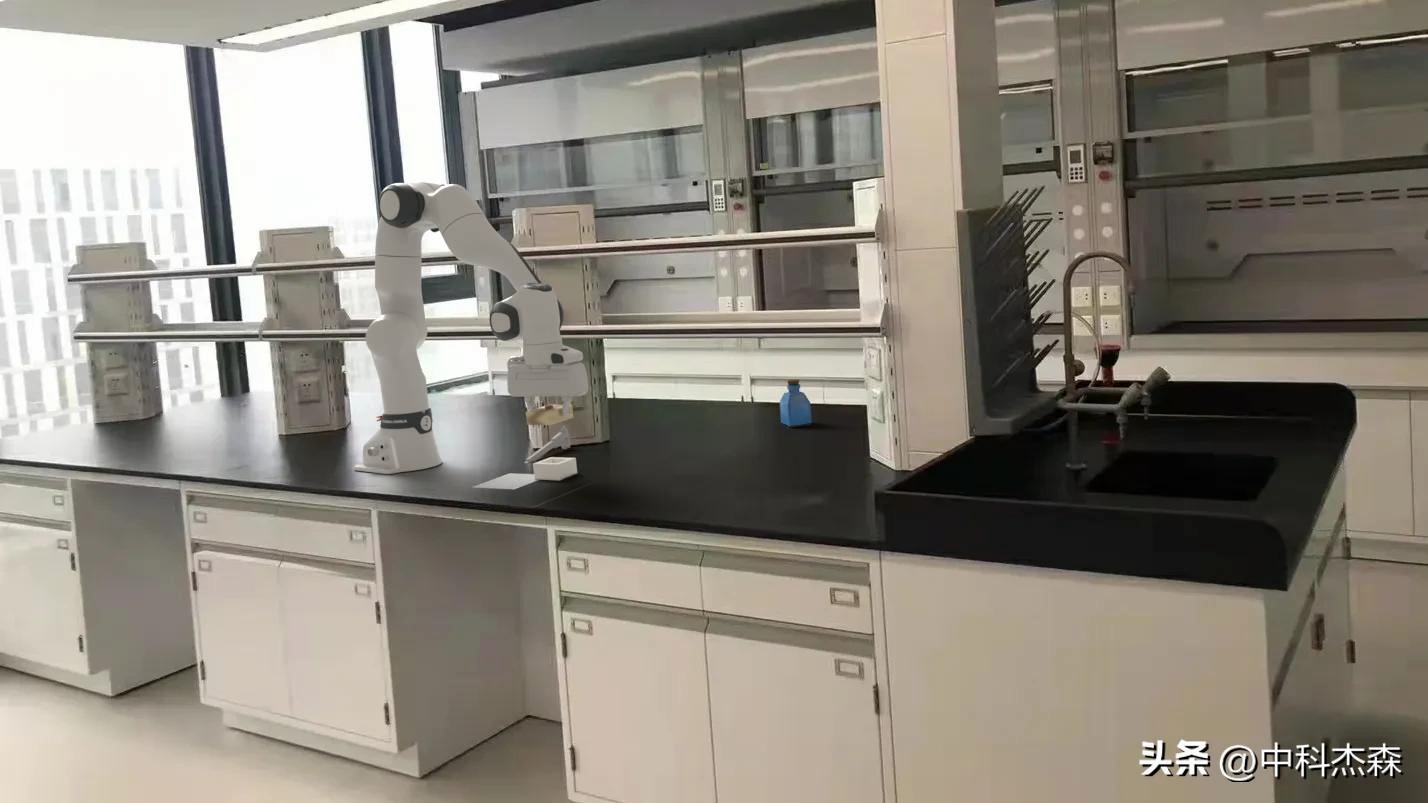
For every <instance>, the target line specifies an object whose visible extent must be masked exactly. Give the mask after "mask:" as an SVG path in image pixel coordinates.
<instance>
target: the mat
mask: <svg viewBox="0 0 1428 803" xmlns="http://www.w3.org/2000/svg"><path fill="white" fill-rule="evenodd" d="M537 481H541V480H540V479H534V473H533V474H532V473H513V472H512V473H510V472H509V473H507V474H504V475H501V476H498V477H495V478H494V479H490V480H488V481H485V482H483V483H482V482H481V483H480V484H476V485H474V486H471V489H472V488H473V489H474V488H475V489H477V488H478V489H494V490H517V489H518V488H521V487H524V486H527V485H529V484H532V483H535V482H537Z"/></svg>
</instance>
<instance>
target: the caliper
mask: <svg viewBox="0 0 1428 803" xmlns="http://www.w3.org/2000/svg"><path fill="white" fill-rule="evenodd" d="M558 447H561V449H562V450H567V449H570V448H571V440H570V433H569V429H567V427H566V425H561V427H559V432H558V433H557V434H555V435H554V436H553V437H551V438H550V441H549V442H547V443H545V444H544V445H543V446H541V447H540V448H538V450H536V451H535V452H533V454H531V455H530V456H528V457H526V459H525V462H524V464H529V463H531V462H536V461H537V460H538V459H540V458H541V457H542V456H544V455H545V454H547V453H548V452H549V451H550V450H552V449H557V448H558Z"/></svg>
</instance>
